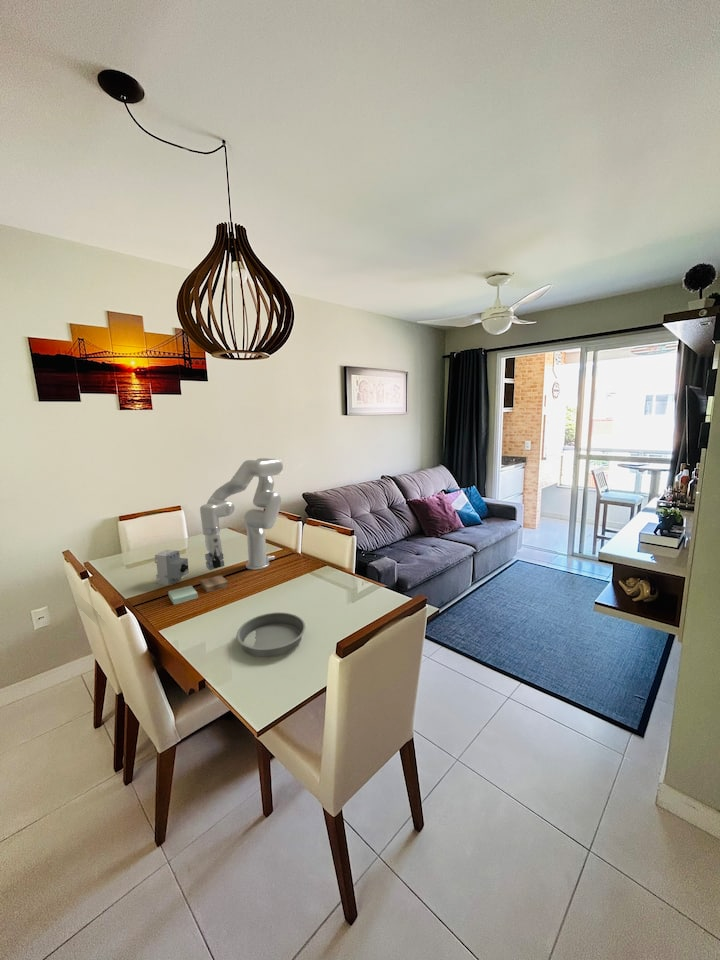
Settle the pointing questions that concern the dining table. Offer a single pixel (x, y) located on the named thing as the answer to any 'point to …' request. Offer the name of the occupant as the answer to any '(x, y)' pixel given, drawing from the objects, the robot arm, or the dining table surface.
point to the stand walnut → (214, 583)
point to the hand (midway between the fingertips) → (215, 565)
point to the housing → (210, 560)
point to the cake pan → (272, 634)
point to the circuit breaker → (170, 567)
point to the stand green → (182, 594)
